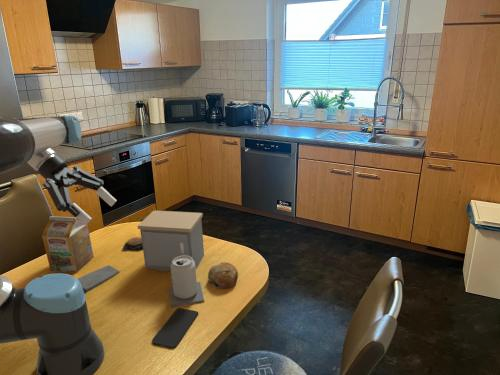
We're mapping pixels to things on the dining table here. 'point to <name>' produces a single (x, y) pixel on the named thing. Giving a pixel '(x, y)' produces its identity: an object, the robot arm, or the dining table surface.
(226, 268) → the bread roll
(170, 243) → the cabinet
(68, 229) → the milk carton
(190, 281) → the can
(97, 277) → the cleaver
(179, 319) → the phone
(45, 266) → the dining table surface
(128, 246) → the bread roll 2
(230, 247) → the dining table surface
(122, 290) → the dining table surface
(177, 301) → the mat
